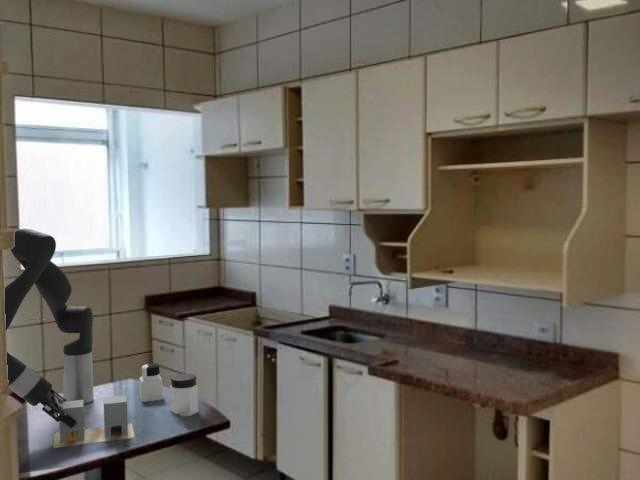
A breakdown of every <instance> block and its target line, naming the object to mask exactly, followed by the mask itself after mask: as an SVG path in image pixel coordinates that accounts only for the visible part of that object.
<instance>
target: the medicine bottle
mask: <svg viewBox="0 0 640 480" xmlns="http://www.w3.org/2000/svg"><path fill="white" fill-rule="evenodd" d="M160 374H161V373H160V365H159V364H157V363H147V364H143V365H142V366H141V376H140V377H139V396H140V400H141V403H146V402H148V401H149V402H156V400H157V401H162V400H163V399H164V398H163V397H164V396H163V394H164V392H163V388H164V387H163V379H162V377H161V375H160Z"/></svg>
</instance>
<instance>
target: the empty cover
mask: <svg viewBox="0 0 640 480" xmlns="http://www.w3.org/2000/svg"><path fill="white" fill-rule="evenodd" d="M103 423H104V424H103V425H104V426H103V427H104V431H105V438H106V437H111V430H113V429H121V428H122V435H128V424H129V423H128V400H127V395H126V394H125V395H116V396H115V395H114V396H105V397H103Z"/></svg>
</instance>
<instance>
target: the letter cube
mask: <svg viewBox="0 0 640 480" xmlns="http://www.w3.org/2000/svg"><path fill="white" fill-rule="evenodd" d="M71 440H78V431H74V432H67V441H71Z"/></svg>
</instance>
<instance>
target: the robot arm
mask: <svg viewBox="0 0 640 480" xmlns="http://www.w3.org/2000/svg"><path fill="white" fill-rule="evenodd" d="M14 233H15V247H14V248H13V249H11V248H10V251H11V254H12V255H13V257H14V258H15V259H16V260H17V262H18V263H19V264H20V265H21V267H23V269H24V270H23V272H21V273H20V275H18V276H17V277H16V278H15V279H14V280H13V281H11V282H10V283H9V284H8V285H6V286H5V287H4V288H5V314H6V331H7V330H8V329H9V328H10V326H11V324H12V322H13V320H14V318H15V316H16V315H17V313H18V310H19V308H20V306H21V305H22V303H23V302H24V299H25V298H26V297H27V295H28V293H29V291H31V289H32V288H33V286H34V285H35V286H36V289H37V291H38V292H39V293H40V295H41V297H42V298H43V299H44V301H45V303H46V304H47V306H48V308H49V310H50V312H51V314H52V316H53V319H54V321H55V324H56V326H57V328H58V329H59V331H61V333H64V334H79V337H78V339H75V340H73V341H71V342H67V343H66V344H64V346H63V350H62V351H63V372H64V373H62V395H60V393H58V392H56V390H54V389H53V384H52V383H50V381H48V380H47V379H46V378H44V377H43V376H41V375H40V374H39V373H38V372H36V371H35V369H32V368H30V367H29V366H27V365H26V364H25V363H24V362H22V361H21V360H19V359H18V358H17V357H15V356H13V355H11V354H10V353H9V351H7V365H8V380H9V389H11V390H12V391H13V392H14V393H15V394H16V395H17V396H19V397H20V399H21V398H22V399H23V400H24V401H25V402H26V403H28V404H29V405H30V406H32V407H36V406H38V405H39V404H41V405H42V406H43V407H42V408H41V410H42V411H43V412H45V414H47V415H48V416H49V417H51V418H52V419H53V420H54V421H56V422H57V423H60V421H62V422H63V423H65V424H66V425H67V426H69V427H70V428H73V427H74V426H75V425H76V423H77V422H76V421H75V420H74V419H73V418H72V417H70V416H69V415H68V414H66V412H65V411H64V410H63V406H62V405H61V403H60V402H67V401H76V400H84V405H85V404H89V403H92V402H93V401H94V379H93V378H94V373H93V372H94V371H93V370H94V369H93V367H94V365H93V327H94V326H93V325H94V324H93V321H94V317H93V316H94V315H93V311H92V309H91V307H89V306H83V305H82V306H80V305H79V306H76V305H75V306H73V305H72V306H69V305H67V302H68V301H69V298H70V297H71V294H72V290H73V289H72V285H71V283H70V280H69V278H68V277H67V275H66V273H65V272H64V271H63V269H61V268H60V267H59V266H58V265H57V264H55V263H54V262H53V261H51V260H52V259H53V257H54V254H55V253H56V248H57V242H56V240H55V238H54V237H53V236H52V235H50V234H47V233H45V232H40V231H38V230H34V229H33V228H32V229H31V228H20V229H17V230H16V231H14ZM59 414H60V415H59Z"/></svg>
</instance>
